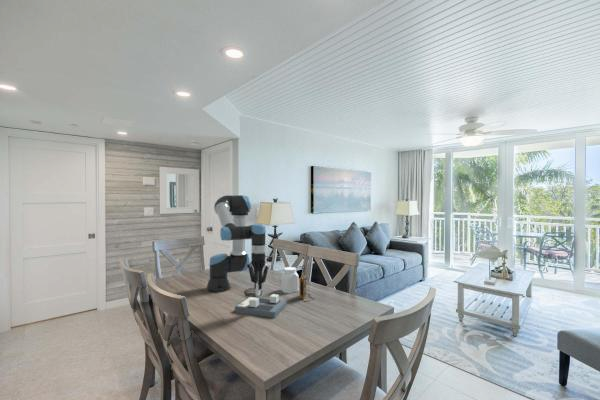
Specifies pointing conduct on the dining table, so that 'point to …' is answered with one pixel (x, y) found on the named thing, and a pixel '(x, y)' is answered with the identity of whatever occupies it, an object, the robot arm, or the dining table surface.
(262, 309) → the switch panel
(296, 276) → the jar
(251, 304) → the near slider
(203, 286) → the dining table surface
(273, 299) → the far slider
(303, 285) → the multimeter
